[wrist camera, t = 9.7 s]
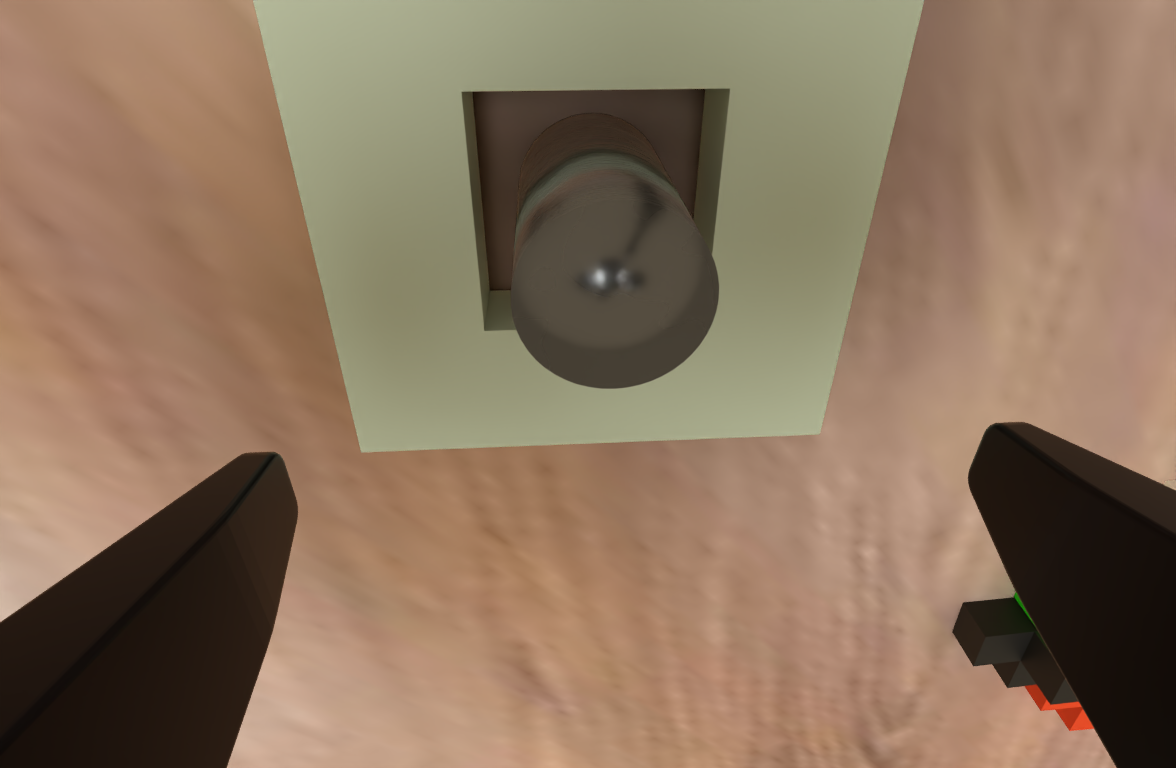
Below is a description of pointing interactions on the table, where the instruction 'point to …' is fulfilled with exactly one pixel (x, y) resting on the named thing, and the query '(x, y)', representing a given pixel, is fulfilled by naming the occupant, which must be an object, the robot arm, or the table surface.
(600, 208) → the long steel pin
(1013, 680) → the building blocks
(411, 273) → the hole board
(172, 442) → the table surface
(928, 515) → the table surface
